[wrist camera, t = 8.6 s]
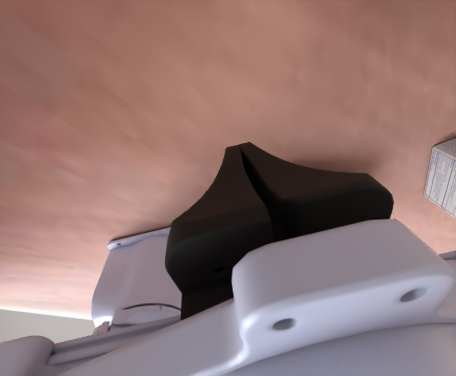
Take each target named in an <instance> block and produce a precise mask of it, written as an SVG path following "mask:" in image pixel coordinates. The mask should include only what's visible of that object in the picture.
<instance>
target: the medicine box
mask: <svg viewBox="0 0 456 376" xmlns="http://www.w3.org/2000/svg"><path fill="white" fill-rule="evenodd" d="M424 196H425V197H427V198H428V199H429V200H431V201H432V202H434V203H435V204H436V205H438V206H439V207H441V208H442V209H443V210H445V211H446V212H447V213H449V214H450V215H452V216H453V217H454V218H456V138H454V139H451V140H449V141H446V142H443V143H441V144H438V145H436V146H434V147H433V149H432V154H431V160H430V165H429V170H428V176H427V181H426V186H425V191H424Z"/></svg>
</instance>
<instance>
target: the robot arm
mask: <svg viewBox="0 0 456 376" xmlns="http://www.w3.org/2000/svg"><path fill="white" fill-rule="evenodd" d="M393 204H394V201H393V197H392V194H391V193H390V192H389V191H388V190H387V189H386V188H385V187H384V186H382V185H381V184H380V183H379V182H378V181H376V180H375V179H374V178H373V177H371V176H370V175H369V174H366V173H343V172H333V171H324V170H318V169H313V168H308V167H303V166H300V165H296V164H293V163H290V162H287V161H284V160H282V159H279V158H277V157H275V156H273V155H271V154H269V153H267V152H265V151H263V150H262V149H260V148H258V147H257V146H255V145H254V144H252V143H250V142H247V143H243V144H239V145H235V146H231V147H227V148H226V149H225V155H224V159H223V162H222V165H221V168H220V170H219V172H218V174H217V176H216V178H215V180H214V182H213V183H212V185H211V186H210V188H209V189H208V190H207V191H206V193H205V194H204V195H203V196H202V197H201V198H200V199H199V200H198V201H197V202H196V203H195V204H194V205H193V206H192V207H191V208H190V209H188V210H187V211H186V212H184V213H183V214H182V215H180V216H179V217H178V218H176V219H175V220H174V221H173V222H172V225H171V227H169V228H165V229H161V230H156V231H152V232H148V233H144V234H140V235H136V236H132V237H127V238H123V239H119V240H115V241H111V242H109V243H108V245H107V246H108V248H109V249H110V253H109V255H108V258H107V260H106V263H105V266H104V268H103V271H102V273H101V276H100V278H99V281H98V284H97V286H96V289H95V291H94V294H93V299H92V319H93V322H94V324H95V326H96V328H95V329H94V332H93V335H91V336H86V337H82V338H78V339H74V340H69V341H65V342H61V343H56V344H55V343H54V342H53V341H51V340H50V339H48V338H46V337H43V336H28V337H23V338H19V339H15V340H11V341H6V342H2V343H0V376H456V251H452V252H448V253H444V254H439V255H438V254H437V253H435V252H434V251H433V250H432V249H431V248H430V247H429V246H428V245H427V244H426V243H425V242H423V241H422V240H421V239H420V238H419V237H418V236H417V235H416V234H415V233H414V232H412V231H411V230H410V229H409V228H408V227H407V226H405V225H404V224H402V223H401V222H399V221H397V220H396V219H390V216H391V213H392V210H393Z"/></svg>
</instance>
